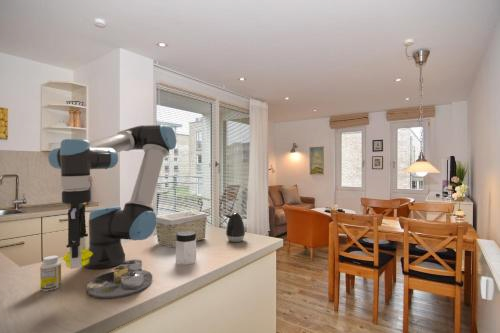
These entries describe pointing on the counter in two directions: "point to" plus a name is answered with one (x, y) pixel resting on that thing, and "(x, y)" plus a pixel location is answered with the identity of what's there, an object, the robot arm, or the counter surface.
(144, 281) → the carrier
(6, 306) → the counter surface
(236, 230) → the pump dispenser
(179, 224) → the storage basket
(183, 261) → the jar
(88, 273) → the counter surface
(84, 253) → the gear
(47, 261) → the supplement bottle
